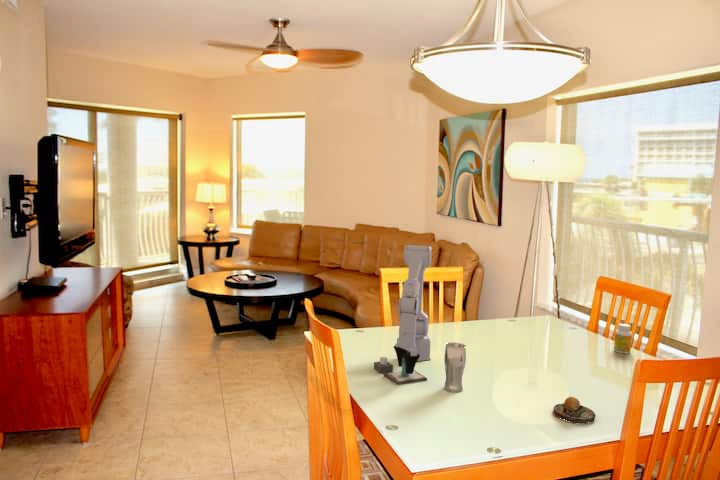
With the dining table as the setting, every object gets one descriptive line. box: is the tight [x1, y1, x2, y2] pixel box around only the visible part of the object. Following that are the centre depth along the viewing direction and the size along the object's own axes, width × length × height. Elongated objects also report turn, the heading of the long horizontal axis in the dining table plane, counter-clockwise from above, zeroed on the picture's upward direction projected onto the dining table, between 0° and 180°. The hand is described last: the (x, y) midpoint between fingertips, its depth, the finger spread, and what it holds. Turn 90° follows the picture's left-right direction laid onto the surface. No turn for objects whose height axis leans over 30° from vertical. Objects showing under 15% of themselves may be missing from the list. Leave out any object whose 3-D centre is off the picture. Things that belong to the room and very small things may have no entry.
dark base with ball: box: [552, 394, 596, 424], centre depth 175 cm, size 12×12×8 cm
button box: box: [373, 360, 394, 375], centre depth 209 cm, size 5×5×3 cm
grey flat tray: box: [383, 369, 428, 386], centre depth 202 cm, size 12×9×1 cm
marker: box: [401, 358, 409, 377], centre depth 202 cm, size 3×3×6 cm
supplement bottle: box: [613, 323, 633, 354], centre depth 242 cm, size 6×6×11 cm
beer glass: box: [443, 342, 467, 393], centre depth 193 cm, size 7×7×15 cm
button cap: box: [379, 356, 389, 366], centre depth 209 cm, size 3×3×3 cm
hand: (405, 369), depth 202 cm, fingers open, 7 cm apart
